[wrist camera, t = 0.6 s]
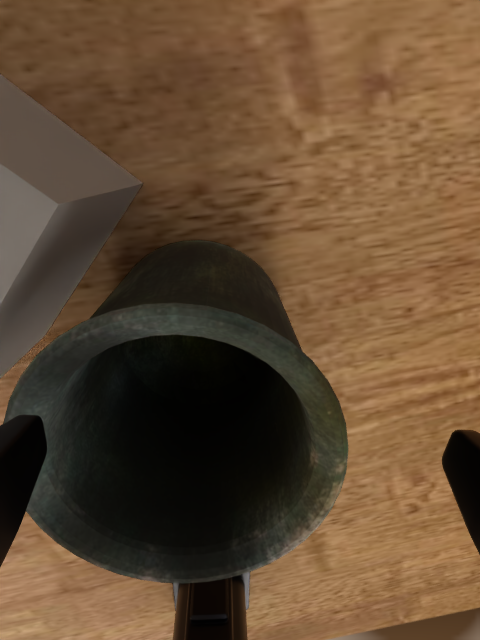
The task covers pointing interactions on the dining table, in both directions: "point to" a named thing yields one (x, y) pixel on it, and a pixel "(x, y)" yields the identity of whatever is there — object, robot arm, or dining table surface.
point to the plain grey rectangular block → (48, 216)
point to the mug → (184, 424)
